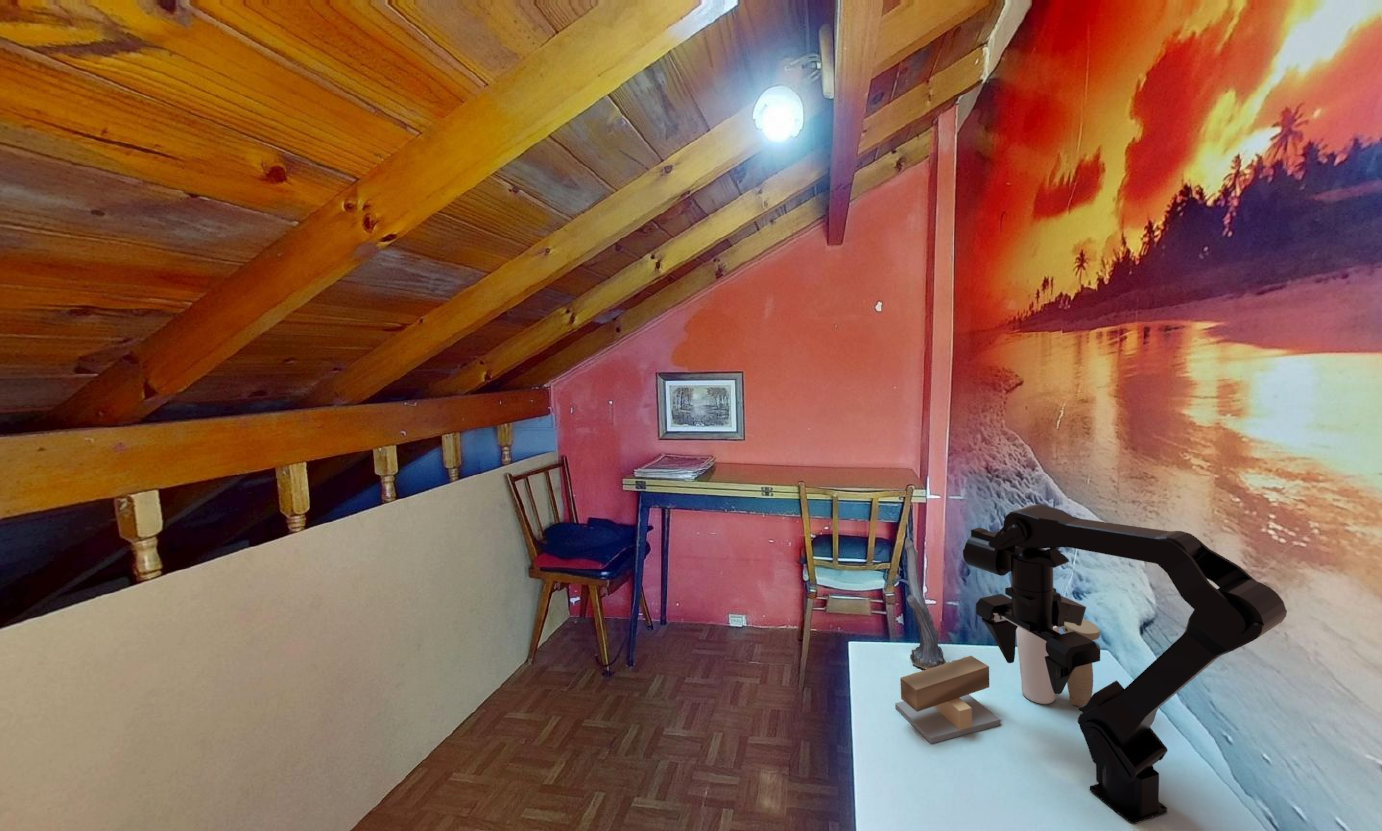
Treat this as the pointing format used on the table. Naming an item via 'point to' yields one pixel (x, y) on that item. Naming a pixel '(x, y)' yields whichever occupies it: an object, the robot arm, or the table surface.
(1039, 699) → the drinking glass
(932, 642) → the antler
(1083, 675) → the handle
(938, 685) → the batten
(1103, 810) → the table surface
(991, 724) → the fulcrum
